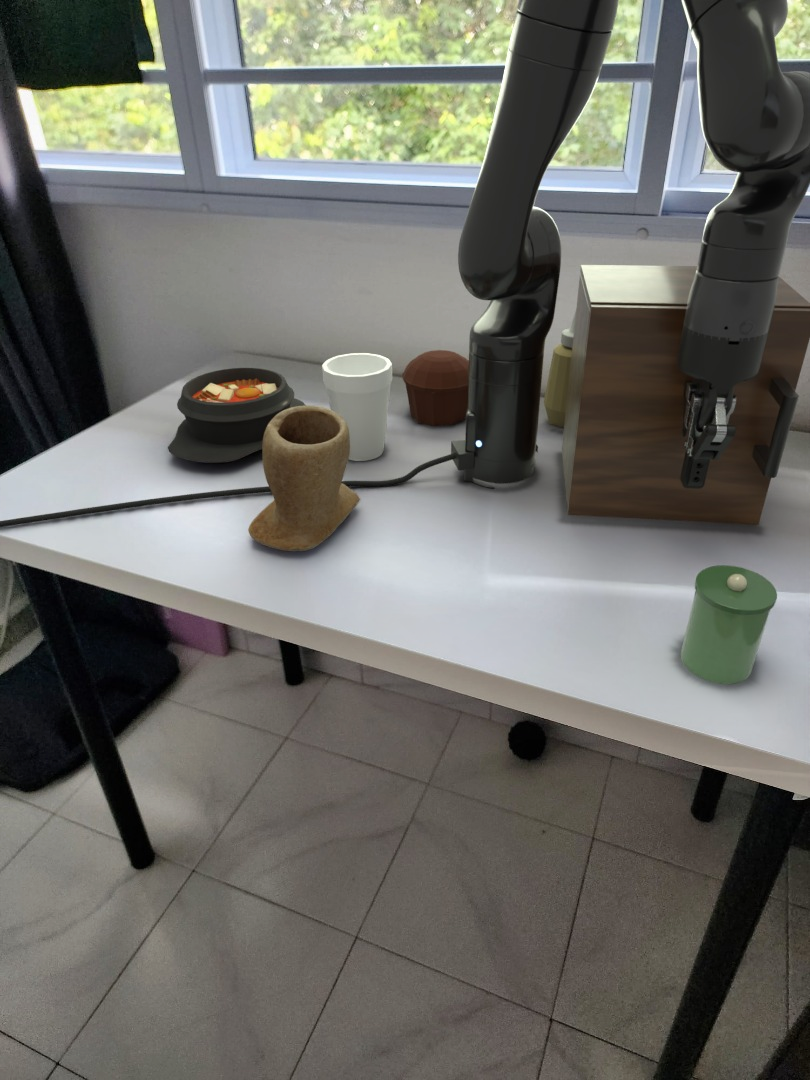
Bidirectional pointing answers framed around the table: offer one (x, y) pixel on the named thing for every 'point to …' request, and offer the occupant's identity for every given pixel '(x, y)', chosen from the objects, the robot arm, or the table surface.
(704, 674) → the pot
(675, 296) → the cupboard
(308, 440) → the stone cup
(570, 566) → the table surface
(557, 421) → the squeeze bottle
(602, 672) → the table surface
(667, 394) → the cupboard door
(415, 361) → the muffin
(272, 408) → the casserole
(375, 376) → the foam cup
